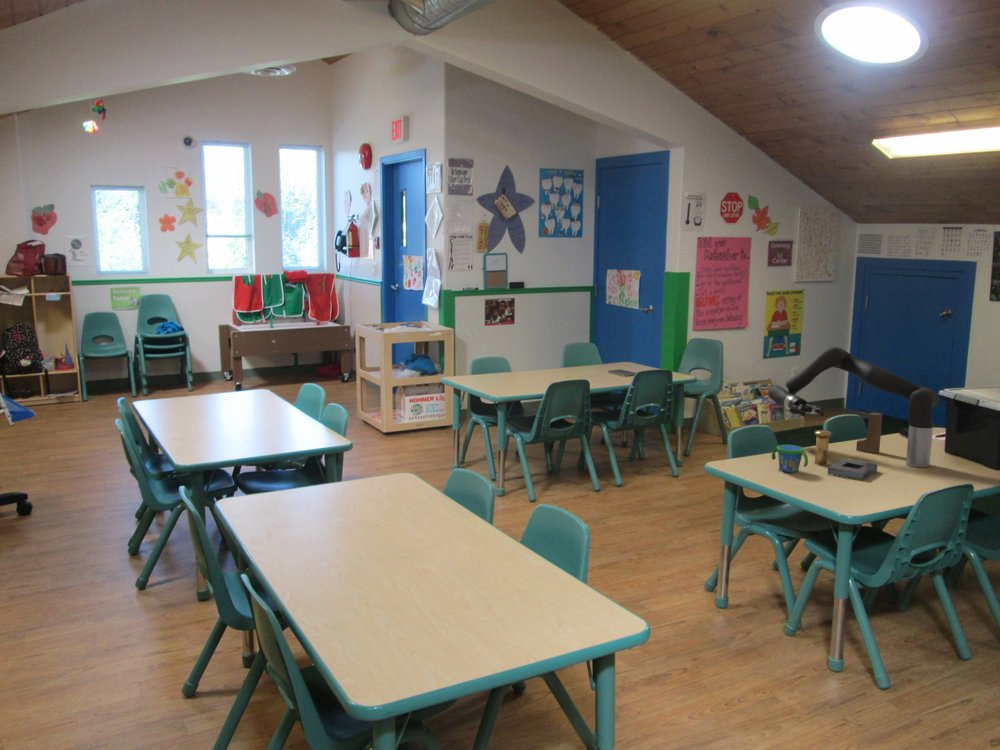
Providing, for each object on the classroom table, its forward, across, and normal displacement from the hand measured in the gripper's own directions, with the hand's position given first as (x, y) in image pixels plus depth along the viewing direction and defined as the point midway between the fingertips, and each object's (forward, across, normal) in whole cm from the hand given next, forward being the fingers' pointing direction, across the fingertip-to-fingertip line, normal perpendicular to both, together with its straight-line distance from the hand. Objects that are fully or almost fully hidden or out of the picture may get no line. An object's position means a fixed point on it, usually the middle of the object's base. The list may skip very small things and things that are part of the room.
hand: (813, 413), depth 370 cm
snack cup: (+18, -18, +20) cm, 32 cm away
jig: (+24, +7, +19) cm, 31 cm away
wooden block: (-8, +33, +20) cm, 40 cm away
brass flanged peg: (+9, +1, +20) cm, 22 cm away
